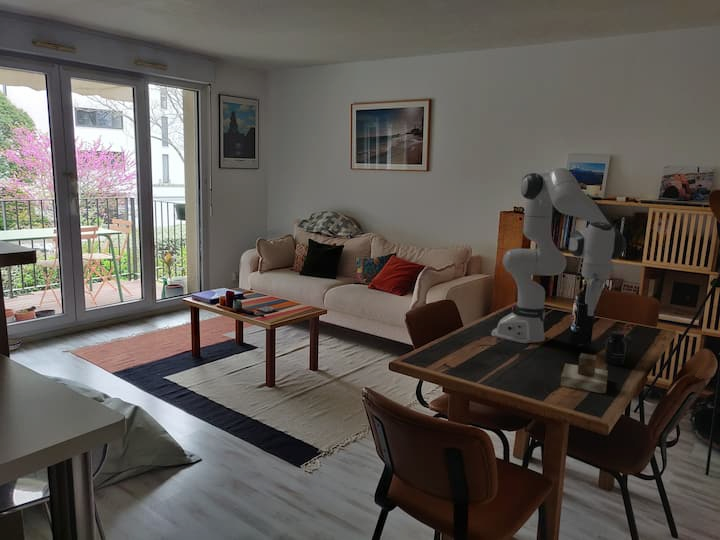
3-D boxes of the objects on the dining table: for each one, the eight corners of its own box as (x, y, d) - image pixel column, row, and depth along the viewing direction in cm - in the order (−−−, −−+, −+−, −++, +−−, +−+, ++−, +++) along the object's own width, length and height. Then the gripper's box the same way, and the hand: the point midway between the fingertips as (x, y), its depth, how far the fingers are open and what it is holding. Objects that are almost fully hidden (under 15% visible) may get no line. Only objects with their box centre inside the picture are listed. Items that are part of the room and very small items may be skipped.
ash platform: (560, 387, 185) (561, 376, 184) (564, 373, 198) (565, 363, 197) (605, 395, 179) (606, 383, 179) (606, 381, 192) (607, 370, 191)
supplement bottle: (615, 367, 205) (619, 336, 203) (600, 361, 211) (603, 331, 208) (627, 364, 208) (631, 334, 206) (612, 358, 214) (615, 329, 212)
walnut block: (577, 373, 187) (579, 357, 186) (579, 369, 191) (581, 353, 190) (593, 376, 184) (595, 359, 183) (594, 372, 189) (596, 355, 188)
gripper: (604, 278, 171) (599, 321, 173) (608, 268, 189) (603, 306, 191) (582, 276, 174) (578, 318, 176) (588, 266, 191) (584, 304, 194)
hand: (591, 312), depth 184 cm, fingers open, 8 cm apart
